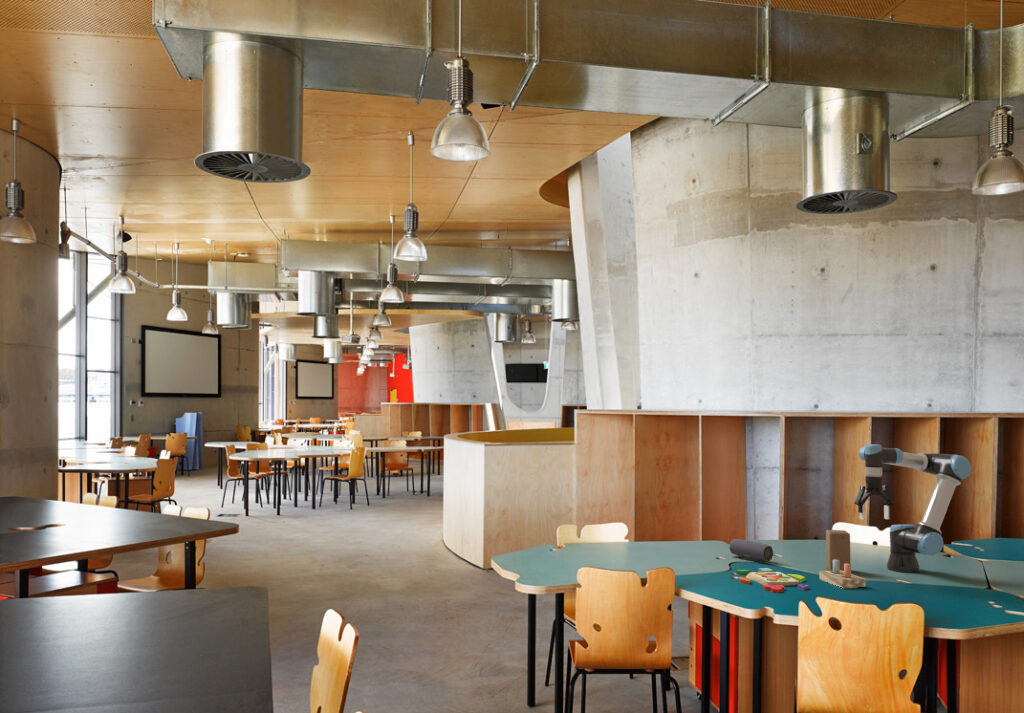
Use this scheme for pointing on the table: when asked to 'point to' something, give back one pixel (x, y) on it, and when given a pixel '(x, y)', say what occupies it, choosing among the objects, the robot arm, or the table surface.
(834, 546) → the wooden block
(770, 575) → the pattern blocks set
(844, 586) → the hole block
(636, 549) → the table surface
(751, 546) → the bluetooth speaker
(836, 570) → the grey peg
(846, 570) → the red peg
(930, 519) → the robot arm
